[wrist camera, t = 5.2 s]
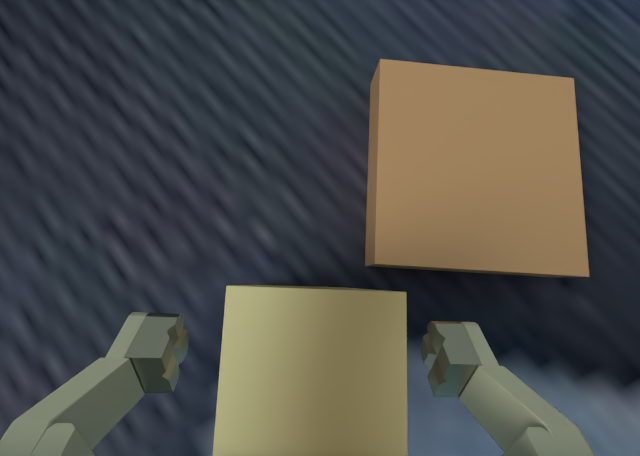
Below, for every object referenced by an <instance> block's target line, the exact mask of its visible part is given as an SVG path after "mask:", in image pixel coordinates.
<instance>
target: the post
mask: <svg viewBox="0 0 640 456" xmlns="http://www.w3.org/2000/svg"><path fill="white" fill-rule="evenodd" d="M213 456H408V442H407V305H406V292H398V291H384V290H370V289H357V288H340V287H313V286H285V285H235V286H226V298H225V310H224V322H223V334H222V346H221V359H220V371H219V383H218V395H217V407H216V420H215V432H214V444H213Z"/></svg>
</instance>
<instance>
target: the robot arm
mask: <svg viewBox="0 0 640 456" xmlns="http://www.w3.org/2000/svg"><path fill="white" fill-rule="evenodd" d="M184 322H185V320H184V316H183V314H167V313H148V312H132V313H131V314H130V315H129V316H128V318H127V320H126V321H125V323H124V325H123V327H122V328H121V330H120V332H119V334H118V336H117V337H116V339H115V341H114V343H113V345H112V346H111V348H110V350H109V352H108V353H107V355H106V357H105V358H99V359H98V360H96V361H95V362H94V363H92V364H91V365H89V366H88V367H87V368H85V369H84V370H83V371H81V372H80V373H78V374H77V375H76V376H74V377H73V378H72V379H70V380H69V381H68V382H66V383H65V384H63V385H62V386H61V387H59V388H58V389H57V390H55V391H54V392H52V393H51V394H50V395H48V396H47V397H46V398H44V399H43V400H42V401H40V402H39V403H37V404H36V405H35V406H33V407H32V408H31V409H29V410H28V411H26V412H25V413H24V414H22V415H21V416H20V417H18V418H17V419H16V420H14V421H13V422H12V424H11V425H10V427H9V428H8V430H7V431H6V432H5V434H4V435H3V437H2V438H1V440H0V456H96V455H95V453H94V452H93V451H92V449H93V448H94V447H95V446H96V445H97V444H98V443H99V442H100V441H101V439H102V438H103V437H104V436H105V435H106V434H107V433H108V432H109V431H110V430H111V429H112V428H113V427H114V426H115V425H116V424H117V423H118V422H119V421H120V420H121V419H122V418H123V417H124V416H125V414H126V413H127V412H128V411H129V410H130V409H131V408H132V407H133V406H134V405H135V404H136V403H137V402H138V401H139V400H140V399H141V398H142V397H143V396H144V393H170V392H173V391H174V388H175V385H176V382H177V379H178V376H179V373H180V371H179V368H178V364H179V363H181V362H182V361H183V360H184V358H185V355H186V352H187V347H188V332H187V330H186V329H185V328H184V327H183V325H184ZM427 331H428V333H427V334H426V335H424V336H423V338H422V341H421V356H422V360H423V364H424V365H425V366H426V367H427V368H428V369H429V370H430V372H429V374H428V380H429V383H430V386H431V389H432V393H433V396H442V397H459V400H460V401H461V402H462V403H463V404H464V405H465V407H466V408H467V409H468V410H469V411H470V412H471V414H472V415H473V416H474V417H475V418H476V419H477V421H478V422H479V423H480V424H481V425H482V426H483V428H484V429H485V430H486V431H487V432H488V433H489V435H490V436H491V437H492V438H493V439H494V440H495V442H496V443H497V444H498V445H499V446H500V447H501V449H502V450H503V451H504V452H505V453H504V454H503V455H502V456H595V455H594V453H593V452H592V450H591V449H590V447H589V445H588V444H587V442H586V440H585V439H584V437H583V436H582V434H581V432H580V431H579V429H578V427H577V426H576V425H575V424H573V423H572V422H571V421H570V420H569V419H567V418H566V417H565V416H564V415H562V414H561V413H560V412H559V411H558V410H556V409H555V408H554V407H553V406H552V405H550V404H549V403H548V402H547V401H546V400H544V399H543V398H542V397H541V396H539V395H538V394H537V393H536V392H535V391H533V390H532V389H531V388H530V387H529V386H527V385H526V384H525V383H524V382H523V381H521V380H520V379H519V378H518V377H516V376H515V375H514V374H513V373H512V372H510V371H509V370H508V369H507V368H506V367H504V366H499V364H498V362H497V360H496V358H495V356H494V354H493V352H492V351H491V349H490V347H489V345H488V343H487V341H486V339H485V337H484V335H483V333H482V331H481V329H480V327H479V325H478V324H477V323H476V322H459V321H431V322H429V324H428V326H427Z"/></svg>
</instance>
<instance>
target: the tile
mask: <svg viewBox="0 0 640 456" xmlns="http://www.w3.org/2000/svg"><path fill="white" fill-rule="evenodd" d="M365 266H372V267H389V268H406V269H422V270H439V271H456V272H473V273H490V274H507V275H523V276H540V277H589V266H588V253H587V240H586V228H585V215H584V202H583V190H582V177H581V164H580V152H579V139H578V126H577V114H576V101H575V88H574V78H566V77H556V76H546V75H536V74H526V73H516V72H506V71H496V70H486V69H476V68H466V67H456V66H446V65H436V64H427V63H417V62H407V61H397V60H387V59H380V61H379V63H378V66H377V68H376V71H375V74H374V76H373V79H372V82H371V90H370V122H369V154H368V186H367V218H366V250H365Z"/></svg>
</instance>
